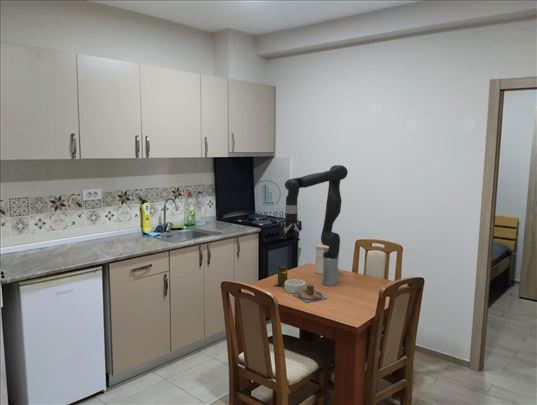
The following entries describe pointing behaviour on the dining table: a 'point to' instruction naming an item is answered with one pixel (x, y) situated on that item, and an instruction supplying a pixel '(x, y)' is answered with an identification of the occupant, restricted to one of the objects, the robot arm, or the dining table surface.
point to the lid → (310, 294)
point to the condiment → (281, 277)
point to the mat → (309, 300)
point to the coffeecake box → (321, 258)
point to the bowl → (294, 286)
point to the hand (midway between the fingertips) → (290, 238)
